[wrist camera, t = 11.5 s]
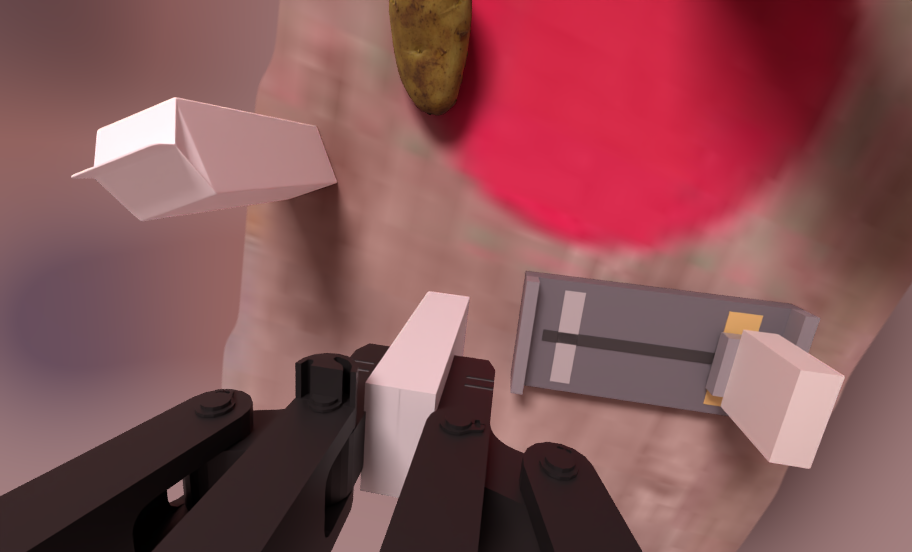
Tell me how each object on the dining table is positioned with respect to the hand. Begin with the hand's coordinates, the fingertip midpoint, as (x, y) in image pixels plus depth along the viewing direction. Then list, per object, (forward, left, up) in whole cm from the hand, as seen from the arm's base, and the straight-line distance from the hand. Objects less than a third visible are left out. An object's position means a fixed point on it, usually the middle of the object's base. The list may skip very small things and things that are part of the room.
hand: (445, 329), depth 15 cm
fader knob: (-9, +27, -27) cm, 39 cm away
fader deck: (-3, +20, -29) cm, 36 cm away
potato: (-8, -16, -29) cm, 34 cm away
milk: (+10, -18, -29) cm, 36 cm away
